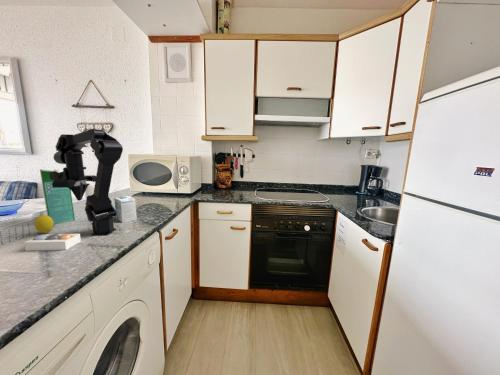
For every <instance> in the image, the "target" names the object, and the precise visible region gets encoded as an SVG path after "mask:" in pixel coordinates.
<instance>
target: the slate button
mask: <svg viewBox="0 0 500 375" xmlns="http://www.w3.org/2000/svg"><path fill="white" fill-rule="evenodd" d="M47 234H48V233H46V234H45V233H41V234H37V235H35V236H34V238H35V240H43V239H46V238H47Z"/></svg>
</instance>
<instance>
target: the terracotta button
mask: <svg viewBox="0 0 500 375" xmlns="http://www.w3.org/2000/svg"><path fill="white" fill-rule="evenodd" d="M63 234H64V235H61V236H60V240H67V239H69V238H71V234H72V233H63Z"/></svg>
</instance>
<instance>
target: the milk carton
mask: <svg viewBox="0 0 500 375" xmlns="http://www.w3.org/2000/svg"><path fill="white" fill-rule="evenodd" d="M53 171H56V172H58V173H59V172H63V169H56V168H54V169H53V170H50V169H49V170H48V169H39V174H40V179H41V185H42V191H43V196H44V205H45V209H46V215H47V216H49V217H51V218H52V220H53V222H54V225H56V223H57V224H62V223H67V222H66V221H68V222H72V220H74V221H76V220H75V218H76V216H75V211H74V203H73V196H72V191H71V190H70V189H69V188H67V187H66V188H53V187H52V182H53V181H54V180H51V179H50V177H49V173H50V172H53ZM61 222H62V223H61Z"/></svg>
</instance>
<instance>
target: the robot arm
mask: <svg viewBox="0 0 500 375" xmlns="http://www.w3.org/2000/svg"><path fill="white" fill-rule="evenodd" d="M86 144H89V146H90V148H92V150H93V151H94V154H93V155H94V156H95V158H96V159H97V162H98V163H97V169H96V170H97V171H96V175H95V174H94V175H91V174H90V175H89V174H88V175H86V174H85V170H87V167H86V166H84V160H83V159H84V158H83V155H84V154H85V153H84V151H83V150H82V149H83V148H84V147H86ZM123 148H124V147H123V145H122V144H121V143H120V142H119V140H117V138H115V137H113V136H112V135H110V134H108V133H107V132H106V131H105V130H103V129H95V128H90V129H87V130H84V131H82V132H79V133H75V134H65V133H64V134H63V133H62V134H60V136H59V137H58V139H57V143H56V144H55V150H56V152H55V153H54V154H53V157H52V158H53V160H54V161H55V163H57V164H60V165H65V167H63V168H62V170H63V172H59V173H58V172H56V171H54V170H52V171H53V172H50V173H49V177H50V179H51V180H54V181H53V182H52V187H53V188H66V187H67V188H69V189H70V190H71V193H72V194H73V195H74V196H75V198H76V199H75V200H77V201H82V200H83V197H84V194H85V192H86V191H87V189H88V187H89V186H90V183H87V182H92V183H93V182H94V188H93V193H92V194H91V195H87V196H86V199H85V200H86V202H85V207H84V211H85V214H86V217H87V220H88V221H89V222H90V223H91V226H92V233H91V236H108V235H110V234H111V233H113V232H115V231H116V230H117V228H116V227H115V225H114V217H116V215H117V211H116V210H115V206H113V203H112V200H111V198H110V197H109V193H110V187H111V182H112V177H113V173H114V168H115V167H114V166H115V164H116V163H117V162H118V161H119V160H120V159H121V157H122V155H123V150H124V149H123Z"/></svg>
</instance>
